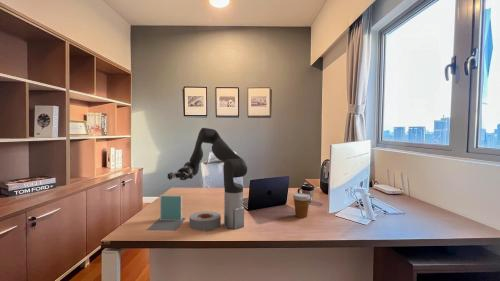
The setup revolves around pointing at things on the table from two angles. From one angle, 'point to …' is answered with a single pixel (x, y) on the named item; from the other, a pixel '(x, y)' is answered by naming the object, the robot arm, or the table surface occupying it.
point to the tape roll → (205, 221)
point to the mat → (166, 224)
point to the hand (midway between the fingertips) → (177, 178)
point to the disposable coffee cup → (301, 204)
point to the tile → (170, 207)
